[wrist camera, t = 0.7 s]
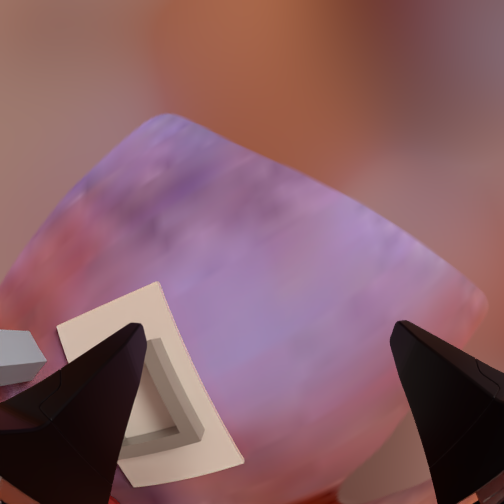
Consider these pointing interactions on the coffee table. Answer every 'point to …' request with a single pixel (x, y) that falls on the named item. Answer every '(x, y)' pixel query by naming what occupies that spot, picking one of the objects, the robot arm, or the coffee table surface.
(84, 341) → the well
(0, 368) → the post
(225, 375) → the coffee table surface
